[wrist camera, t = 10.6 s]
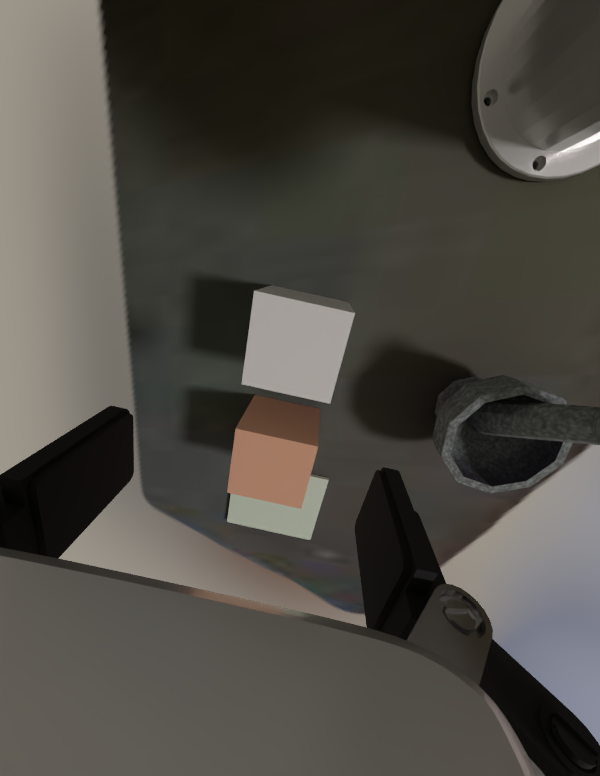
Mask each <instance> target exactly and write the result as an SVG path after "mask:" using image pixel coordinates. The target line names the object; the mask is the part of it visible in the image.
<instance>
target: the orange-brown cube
mask: <svg viewBox="0 0 600 776" xmlns="http://www.w3.org/2000/svg"><path fill="white" fill-rule="evenodd" d="M319 416H320V409H318V408H314V407H309V406H305V405H300V404H296V403H291V402H286V401H282V400H277V399H273V398H268V397H264V396H259V395H254V397H253V399H252V400H251V402H250V404H249V406H248V407H247V409H246V411H245V413H244V415H243V416H242V418H241V420H240V422H239V423H238V425H237V427H236V429H235V437H234V444H233V452H232V460H231V467H230V475H229V482H228V490H227V493H231V494H236V495H240V496H245V497H249V498H254V499H259V500H263V501H268V502H272V503H277V504H281V505H286V506H290V507H295V508H300V509H301V508H302V504H303V501H304V497H305V493H306V490H307V486H308V482H309V479H310V475H311V471H312V467H313V464H314V460H315V456H316V453H317V449H318V439H319Z"/></svg>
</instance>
